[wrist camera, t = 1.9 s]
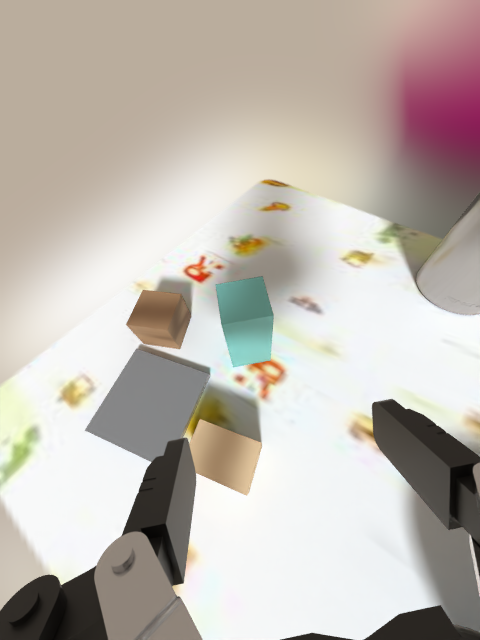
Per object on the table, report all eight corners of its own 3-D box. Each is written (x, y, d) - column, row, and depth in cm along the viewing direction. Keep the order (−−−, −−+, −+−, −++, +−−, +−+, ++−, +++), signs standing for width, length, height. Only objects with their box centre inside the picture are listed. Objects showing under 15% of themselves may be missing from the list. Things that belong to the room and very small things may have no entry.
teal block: (228, 334, 32) (215, 284, 23) (262, 328, 32) (262, 276, 24) (233, 367, 30) (221, 324, 21) (270, 360, 30) (273, 315, 21)
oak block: (191, 466, 25) (180, 465, 21) (207, 425, 26) (199, 419, 23) (248, 492, 23) (246, 495, 20) (261, 447, 25) (261, 442, 22)
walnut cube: (157, 312, 35) (142, 290, 31) (191, 316, 34) (181, 294, 30) (144, 344, 32) (126, 324, 28) (180, 349, 31) (167, 330, 27)
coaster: (139, 351, 32) (136, 348, 31) (210, 376, 29) (208, 373, 28) (89, 431, 27) (85, 430, 26) (168, 469, 24) (166, 469, 24)
